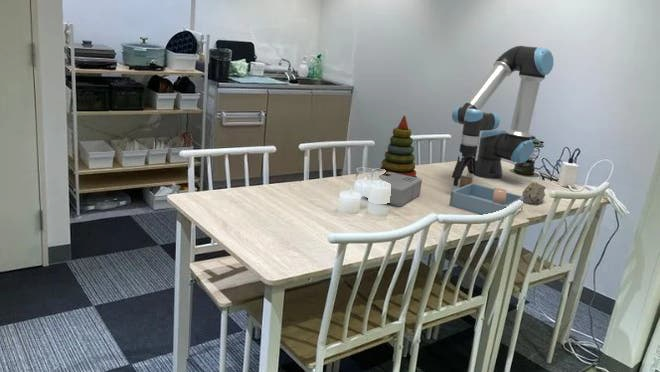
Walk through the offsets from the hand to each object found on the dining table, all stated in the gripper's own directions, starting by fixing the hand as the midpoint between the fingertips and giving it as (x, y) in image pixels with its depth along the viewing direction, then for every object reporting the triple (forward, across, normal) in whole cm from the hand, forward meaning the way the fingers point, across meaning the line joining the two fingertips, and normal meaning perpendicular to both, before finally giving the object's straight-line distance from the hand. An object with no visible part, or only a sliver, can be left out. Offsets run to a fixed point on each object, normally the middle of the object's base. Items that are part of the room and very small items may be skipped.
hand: (461, 189), depth 248 cm
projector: (+1, +35, -15) cm, 38 cm away
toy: (0, +8, -30) cm, 31 cm away
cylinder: (-1, +15, +23) cm, 28 cm away
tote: (0, +15, +18) cm, 23 cm away
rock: (0, -11, +30) cm, 32 cm away
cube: (0, 0, 0) cm, 0 cm away
